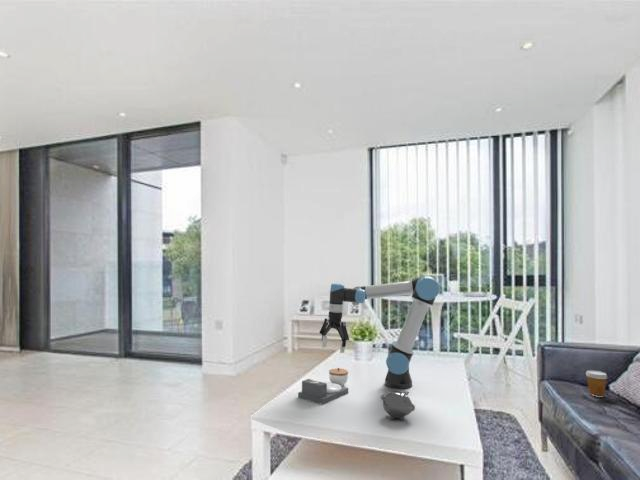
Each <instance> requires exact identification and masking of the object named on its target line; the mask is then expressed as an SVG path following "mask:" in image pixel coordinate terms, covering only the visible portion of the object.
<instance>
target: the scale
mask: <svg viewBox="0 0 640 480" xmlns="http://www.w3.org/2000/svg"><path fill="white" fill-rule="evenodd" d="M347 394H349V388H348V387H345V386H340V385H338V384H335V383H331V382H322V381H319V380H314V379H310V378H307V379H305V380H301V391H299V392H298V393H297V395H298V396H297V397H298V398H299V399H301V400H306V401H309V402H313V403H317V404H320V405H325V404H327V403H330V402H332V401H334V400H336V399H339V398H341V397H343V396H345V395H347ZM298 398H297V399H298Z"/></svg>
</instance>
